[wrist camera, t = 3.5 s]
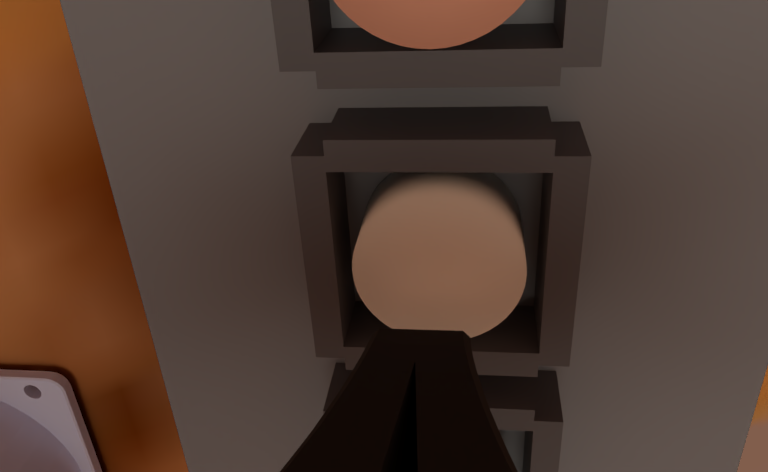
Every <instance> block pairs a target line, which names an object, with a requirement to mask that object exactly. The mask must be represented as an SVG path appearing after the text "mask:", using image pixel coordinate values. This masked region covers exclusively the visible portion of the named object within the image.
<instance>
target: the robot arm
mask: <svg viewBox="0 0 768 472" xmlns="http://www.w3.org/2000/svg"><path fill="white" fill-rule="evenodd" d="M0 472H102V470H101V467H100V464H99V461H98V459H97V456H96V453H95V450H94V448H93V445H92V442H91V439H90V437H89V434H88V431H87V428H86V425H85V423H84V420H83V417H82V414H81V412H80V409H79V406H78V403H77V401H76V398H75V395H74V392H73V390H72V387H71V385H70V383H69V381H68V380H67V379H66V378H65V377H64V376H63V375H61V374H59V373H56V372H51V371H29V370H6V369H0ZM280 472H518V471H517V469H516V467H515V465H514V463H513V461H512V458H511V456H510V454H509V452H508V450H507V448H506V446H505V443H504V441H503V439H502V436H501V434H500V432H499V429H498V427H497V425H496V422H495V420H494V418H493V415H492V413H491V411H490V408H489V405H488V403H487V400H486V398H485V395H484V392H483V389H482V386H481V383H480V380H479V377H478V373H477V370H476V366H475V362H474V358H473V353H472V348H471V338H470V337H469V336H468V335H467V334H466V333H465V332H464V331H454V330H417V329H381V328H379V329H378V330H377V331H376V332H375V333H373V334H372V336H371V338H370V340H369V342H368V344H367V346H366V348H365V350H364V351H363V353H362V355H361V357H360V359H359V360H358V362H357V364H356V365H355V367H354V369H353V370H352V372H351V374H350V375H349V377H348V378H347V380H346V382H345V383H344V385H343V386H342V388H341V390H340V391H339V393H338V394H337V395H336V397H335V398H334V400H333V401H332V403H331V404H330V406H329V407H328V408H327V410H326V411H325V413H324V414H323V416H322V417H321V419H320V420H319V421H318V423H317V424H316V426H315V427H314V429H313V430H312V431H311V433H310V434H309V435H308V437H307V438H306V439H305V440H304V442H303V443H302V444H301V446H300V447H299V448H298V449H297V451H296V452H295V453H294V454H293V456H292V457H291V458H290V460H289V461H288V462H287V463H286V465H285V466H284V467H283V468H282V470H281V471H280Z"/></svg>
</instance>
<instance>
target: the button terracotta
mask: <svg viewBox="0 0 768 472" xmlns="http://www.w3.org/2000/svg"><path fill="white" fill-rule="evenodd" d="M524 1H525V0H334V2H335V3H336V4H337V6H338V7H339V8H340V9H341V10H342V11H343V12H344V13H345V14H346V15H347V16H348V17H349V18H350V19H351V20H352V21H354V22H355V23H356V24H357V25H358V26H360V27H361V28H363V29H364V30H366V31H367V32H369V33H371V34H372V35H374V36H376V37H378V38H380V39H383V40H385V41H387V42H390V43H393V44H396V45H400V46H404V47H410V48H415V49H439V48H448V47H452V46H457V45H461V44H464V43H467V42H469V41H472V40H475V39H477V38H479V37H481V36H483V35H485V34H487V33H489V32H490V31H492V30H493V29H495V28H496V27H498V26H499V25H501V24H502V23H503V22H504V21H505V20H507V19H508V18H509V17H510V16H511V15H512V14H513V13H515V11H516V10H517V9H518V8H519V7H520V6H521V5H522V4H523V2H524Z"/></svg>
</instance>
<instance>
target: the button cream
mask: <svg viewBox="0 0 768 472" xmlns="http://www.w3.org/2000/svg"><path fill="white" fill-rule="evenodd" d="M352 274H353V280H354V283H355V286H356V289H357V292H358V294H359V296H360V298H361V299H362V301H363V302H364V304H365V305H366V307H367V308H368V309H369V310H370V311H371V313H372V314H373V315H374V316H375V317H377V318H378V319H379V320H380V321H381V322H383V323H384V324H385V325H387V326H388V327H390V328H392V329H417V330H454V331H464V332H465V333H466V334H467V335H468V336H469V337H470V338H472V337H475V336H478V335H481V334H483V333H485V332H487V331H489V330H491V329H492V328H494V327H495V326H497V325H498V324H500V323H501V322H502V321H503V320H504V319H506V318H507V317H508V315H509V314H510V313H511V312H512V311H513V310H514V308H515V307H516V305H517V304H518V302H519V300H520V298H521V296H522V294H523V291H524V288H525V284H526V277H527V265H526V255H525V246H524V237H523V228H522V220H521V214H520V211H519V208H518V205H517V202H516V200H515V199H514V197H513V195H512V193H511V192H510V191H509V189H508V188H507V187H506V186H505V184H504V183H503V182H502V181H501V180H500V179H498V178H497V177H496V176H495V175H494V174H492V173H439V172H392V173H391V174H390V175H389V176H387V177H386V178H385V179H384V180H383V181H382V182H381V183H380V184H379V185H378V186H377V188H376V189H375V191H374V192H373V194H372V196H371V198H370V200H369V202H368V205H367V208H366V211H365V215H364V218H363V222H362V225H361V228H360V232H359V235H358V239H357V242H356V245H355V249H354V252H353V259H352Z"/></svg>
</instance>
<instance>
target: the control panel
mask: <svg viewBox="0 0 768 472" xmlns="http://www.w3.org/2000/svg"><path fill="white" fill-rule="evenodd" d="M60 2H61V6H62V10H63V13H64V17H65V21H66V24H67V28H68V32H69V35H70V39H71V43H72V46H73V50H74V54H75V57H76V61H77V65H78V68H79V72H80V76H81V79H82V83H83V87H84V90H85V94H86V98H87V101H88V105H89V108H90V112H91V116H92V119H93V123H94V127H95V130H96V134H97V138H98V141H99V145H100V149H101V152H102V156H103V160H104V163H105V167H106V171H107V174H108V178H109V182H110V185H111V189H112V193H113V196H114V200H115V204H116V207H117V211H118V215H119V218H120V222H121V225H122V229H123V233H124V236H125V240H126V244H127V247H128V251H129V255H130V258H131V262H132V266H133V269H134V273H135V277H136V280H137V284H138V288H139V291H140V295H141V299H142V302H143V306H144V310H145V313H146V317H147V321H148V324H149V328H150V332H151V335H152V339H153V343H154V346H155V350H156V353H157V357H158V361H159V364H160V368H161V372H162V375H163V379H164V383H165V386H166V390H167V394H168V397H169V401H170V405H171V408H172V412H173V416H174V419H175V423H176V427H177V430H178V434H179V438H180V441H181V445H182V449H183V452H184V456H185V460H186V463H187V467H188V471H189V472H280V471H281V470H282V468H283V467H284V466H285V465H286V463H287V462H288V461H289V460H290V458H291V457H292V456H293V454H294V453H295V452H296V451H297V449H298V448H299V447H300V446H301V444H302V443H303V442H304V440H305V439H306V438H307V437H308V435H309V434H310V433H311V431H312V430H313V429H314V427H315V426H316V424H317V423H318V421H319V420H320V419H321V417H322V416H323V414H324V413H325V411H326V410H327V408H328V407H329V406H330V404H331V403H332V401H333V400H334V398H335V397H336V395H337V394H338V393H339V391H340V390H341V388H342V386H343V385H344V383H345V382H346V380H347V378H348V377H349V375H350V374H351V372H352V370H353V369H354V367H355V365H356V364H357V362H358V360H359V359H360V357H361V355H362V353H363V351H364V350H365V348H366V346H367V344H368V342H369V340H370V338H371V336H372V334H373V333H375V332H376V331H377V330H378V329H379V328H381V329H392V328H390V327H388V326H387V325H385V324H384V323H383V322H381V321H380V320H379V319H378V318H377V317H375V316H374V315H373V314H372V313H371V311H370V310H369V309H368V308H367V307H366V305H365V304H364V302H363V301H362V299H361V298H360V296H359V294H358V292H357V289H356V286H355V283H354V280H353V274H352V259H353V252H354V249H355V245H356V242H357V239H358V235H359V232H360V228H361V225H362V222H363V218H364V215H365V211H366V208H367V205H368V202H369V200H370V198H371V196H372V194H373V192H374V191H375V189H376V188H377V186H378V185H379V184H380V183H381V182H382V181H383V180H384V179H385V178H386V177H387V176H389V175H390V174H391V173H392V172H439V173H492V174H494V175H495V176H496V177H497V178H498V179H500V180H501V181H502V182H503V183H504V184H505V186H506V187H507V188H508V189H509V191H510V192H511V193H512V195H513V197H514V199H515V200H516V202H517V205H518V208H519V211H520V214H521V220H522V228H523V237H524V246H525V255H526V265H527V277H526V284H525V288H524V291H523V294H522V296H521V298H520V300H519V302H518V304H517V305H516V307H515V308H514V310H513V311H512V312H511V313H510V314H509V315H508V317H507V318H506V319H504V320H503V321H502V322H501V323H500V324H498V325H497V326H495V327H494V328H492V329H491V330H489V331H487V332H485V333H483V334H481V335H478V336H475V337H472V338H471V348H472V353H473V358H474V362H475V366H476V370H477V373H478V377H479V380H480V383H481V386H482V389H483V392H484V395H485V398H486V400H487V403H488V405H489V408H490V411H491V413H492V415H493V418H494V420H495V422H496V425H497V427H498V429H499V432H500V434H501V436H502V439H503V441H504V443H505V446H506V448H507V450H508V452H509V454H510V456H511V458H512V461H513V463H514V465H515V467H516V469H517V471H518V472H737V469H738V466H739V462H740V458H741V455H742V452H743V448H744V445H745V441H746V438H747V434H748V431H749V428H750V424H751V421H752V417H753V414H754V410H755V407H756V403H757V400H758V396H759V393H760V390H761V386H762V383H763V379H764V376H765V372H766V369H767V365H768V0H525V1H524V2H523V4H522V5H521V6H520V7H519V8H518V9H517V10H516V11H515V13H513V14H512V15H511V16H510V17H509V18H508V19H507V20H505V21H504V22H503V23H502V24H501V25H499V26H498V27H496V28H495V29H493V30H492V31H490V32H489V33H487V34H485V35H483V36H481V37H479V38H477V39H475V40H472V41H469V42H467V43H464V44H461V45H457V46H452V47H448V48H439V49H415V48H410V47H404V46H400V45H396V44H393V43H390V42H387V41H385V40H383V39H380V38H378V37H376V36H374V35H372V34H371V33H369V32H367V31H366V30H364V29H363V28H361V27H360V26H358V25H357V24H356V23H355V22H354V21H352V20H351V19H350V18H349V17H348V16H347V15H346V14H345V13H344V12H343V11H342V10H341V9H340V8H339V7H338V6H337V4H336V3H335V2H334V0H60Z"/></svg>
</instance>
